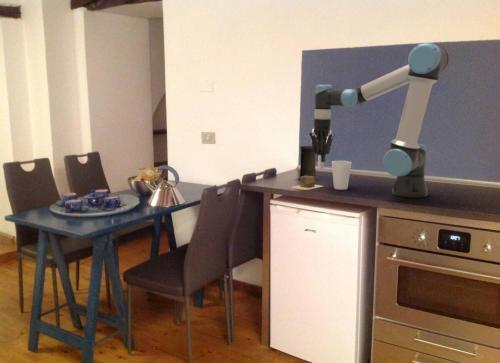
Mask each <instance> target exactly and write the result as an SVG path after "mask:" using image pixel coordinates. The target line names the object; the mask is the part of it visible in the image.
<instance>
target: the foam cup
mask: <svg viewBox="0 0 500 363" xmlns="http://www.w3.org/2000/svg"><path fill="white" fill-rule="evenodd" d="M331 169H332V170H331V173H332V180H333V181H332V182H333V189H335V190H348V188H349V183H350V182H349V180H350V175H351V169H352V161H349V160H333V161H331Z"/></svg>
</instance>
